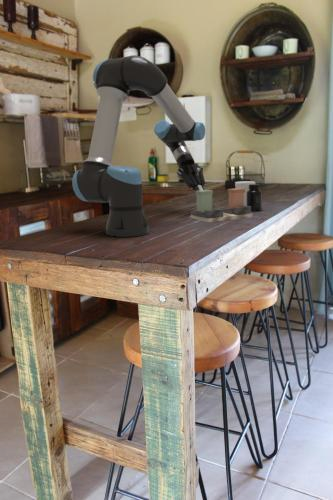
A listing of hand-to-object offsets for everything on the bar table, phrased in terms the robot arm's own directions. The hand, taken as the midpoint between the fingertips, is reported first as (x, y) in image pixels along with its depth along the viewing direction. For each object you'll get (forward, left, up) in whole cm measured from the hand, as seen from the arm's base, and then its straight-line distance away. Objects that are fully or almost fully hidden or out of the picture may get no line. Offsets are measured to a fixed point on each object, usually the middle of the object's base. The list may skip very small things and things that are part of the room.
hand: (203, 198), depth 186 cm
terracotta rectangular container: (+10, -10, -6) cm, 15 cm away
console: (+3, -9, -8) cm, 12 cm away
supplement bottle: (+27, -1, -8) cm, 28 cm away
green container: (-4, -7, -6) cm, 10 cm away
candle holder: (+32, +12, -8) cm, 35 cm away
